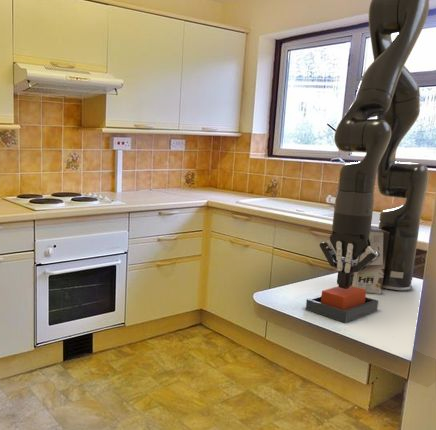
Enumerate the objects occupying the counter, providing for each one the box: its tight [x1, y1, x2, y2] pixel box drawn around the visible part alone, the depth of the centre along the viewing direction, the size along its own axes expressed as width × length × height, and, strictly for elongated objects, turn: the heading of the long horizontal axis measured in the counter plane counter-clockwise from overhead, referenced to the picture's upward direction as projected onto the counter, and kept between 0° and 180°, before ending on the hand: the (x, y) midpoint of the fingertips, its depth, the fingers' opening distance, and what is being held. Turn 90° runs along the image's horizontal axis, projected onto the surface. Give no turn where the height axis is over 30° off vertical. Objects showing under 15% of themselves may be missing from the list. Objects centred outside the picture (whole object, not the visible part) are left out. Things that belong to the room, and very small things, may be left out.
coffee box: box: [352, 225, 389, 295], centre depth 120 cm, size 9×6×16 cm
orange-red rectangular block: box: [320, 285, 367, 310], centre depth 104 cm, size 10×5×4 cm, turn 125°
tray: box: [305, 294, 379, 324], centre depth 104 cm, size 14×9×2 cm, turn 126°
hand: (343, 287), depth 103 cm, fingers closed
